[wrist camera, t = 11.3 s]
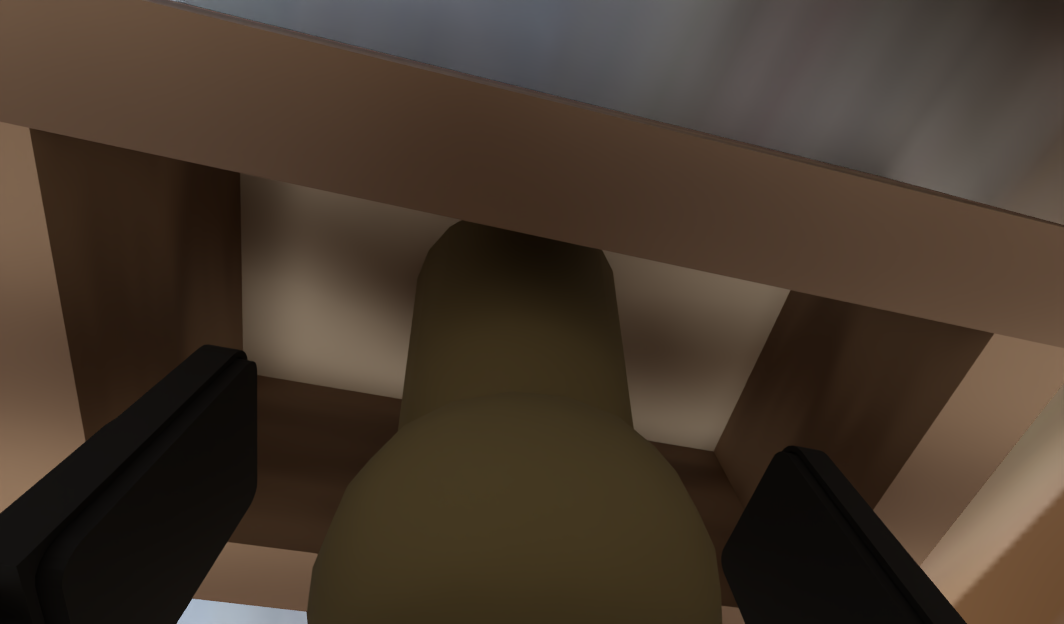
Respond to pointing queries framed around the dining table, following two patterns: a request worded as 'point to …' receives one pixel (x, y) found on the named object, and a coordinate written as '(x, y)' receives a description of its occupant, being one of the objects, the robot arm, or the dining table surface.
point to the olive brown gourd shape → (515, 461)
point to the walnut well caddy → (495, 200)
